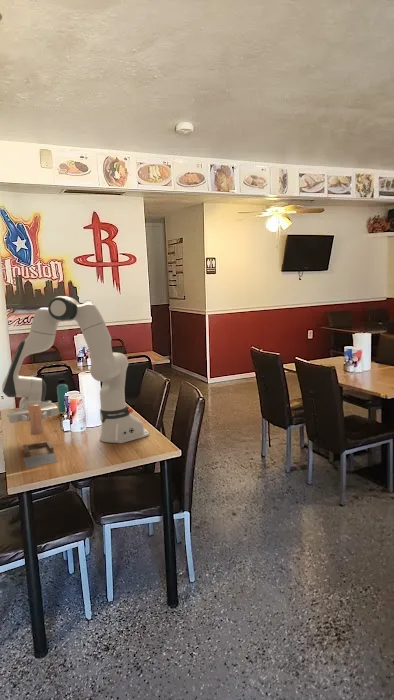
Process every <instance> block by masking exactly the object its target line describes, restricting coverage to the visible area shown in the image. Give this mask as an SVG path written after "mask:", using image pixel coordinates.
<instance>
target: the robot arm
mask: <svg viewBox="0 0 394 700" xmlns="http://www.w3.org/2000/svg"><path fill="white" fill-rule="evenodd" d="M71 321H75V322H76V323H77V324H78V326H79V329H80V330H81V333H82V337H83V338H84V340H85V343H86V346H87V348H88V352H89V358H90V367H89V368H90V369H89V372H90V375H91V377H92V379H93V380H95V381H97V382H101V384H102V385H101V388H100V390H99V391H100V392H99V402H100V409H99V416H100V421H101V426H100V427H101V429H100V436H99V441H101V442H102V443H103V442H104V443H111V444H112V443H113V444H114V443H115V444H124V443H127V442H131V441H135V440H139V439H142V438H145V437H148V436H149V434H150V432H149V430H148V429H146V428H144V426H143V425H144V424H143V422H142V421H141V419H139V418H138V417H136V416H135V415H133V414H132V413H133V411H134V409H133V408H131V407H129V406H126V399H125V398H126V396H125V395H126V393H125V387H126V378H127V370H128V367H129V359H128V357H127V356H126V355H125V353H122V352H114V351H113V349H112V348H113V347H112V336H111V335H110V331H109V329H108V327H107V325H106V322H105V319H104V318H103V316H102V314H101V312H100V311H99V309H98V308H97V306H96V305H95V304H94V303H91V302H86V303H83V304H81V302H80V301H79V300H78V299H77V298H74V297H71V296H67V295H59V296H55V297H54V298H52V299H51V300H50V301H49V303H48V307H40V308H38V309H36V311H35V313H34V315H33V319H32V322H31V326H30V330H29V331H30V332H29V334H28V336H26V338H25V339H23V340H21V341H20V343H18V346H17V349H16V351H15V354H14V356H13V358H12V362H11V364H10V367H9V368H8V372H7V374H6V376H5V378H4V380H3V383H2V386H1V388H2V393H3V394H4V395H5V396H6V397H8V398H21V399H20V400H19V405H18V407H19V409H17V410H16V409H15V410H11V411H9V412H8V414H6V417H7V418H8V422H9V424H13V423H18V422H19V423H21V422H30V419H29V412H28V405H31V404H41V414H42V420H43V419H44V420H45V419H46V418H50V417H56V416H59V413H60V412H59V409H58V408H59V406H58V405H56V404H55V403H53V402H52V400H46V399H45V398H46V395H47V384H46V382H45V380H44V379H43V378H41V377H35V376H25V375H19V372H20V369H21V367H22V364H23V362H24V360H25V359H26V357H28V356H30V355H33V354H39V353H42V352H45V351H48V350H49V349H50V348H52V346H53V345H54V343H55V339H56V335H57V328H58V325H59V324H60V323H61V322H71Z"/></svg>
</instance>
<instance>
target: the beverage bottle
mask: <svg viewBox="0 0 394 700" xmlns="http://www.w3.org/2000/svg"><path fill="white" fill-rule="evenodd" d="M57 383H58V385H57V386H56V394H57V403H58V404H57V407H58V412H59V413H66V412H65V405H64V395H65V393H67V392H69V393H70V391H69V386H68V384H66V378H58V380H57Z"/></svg>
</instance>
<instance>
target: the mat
mask: <svg viewBox="0 0 394 700" xmlns="http://www.w3.org/2000/svg"><path fill="white" fill-rule="evenodd" d="M22 459H23V462H24V465H25V468H26V469H27V468H33V467H37V466H43V465H46V464H47V465H48V464H52V463H56V462H58V459H57V458H56V455H55V454H54V452H51V453H46V454H41V455H36V456H31V457H23V458H22Z"/></svg>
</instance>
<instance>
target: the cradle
mask: <svg viewBox="0 0 394 700" xmlns="http://www.w3.org/2000/svg"><path fill="white" fill-rule="evenodd" d="M22 448H23V452H24V453H25V458H27V457H32V456H37V455H42V454H47V453H52V452H53V453H55V451H54V446H53V444H52V442H51V441H50V440H43V441H39V442H34V443H29V444H24V445H23V447H22Z"/></svg>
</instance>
